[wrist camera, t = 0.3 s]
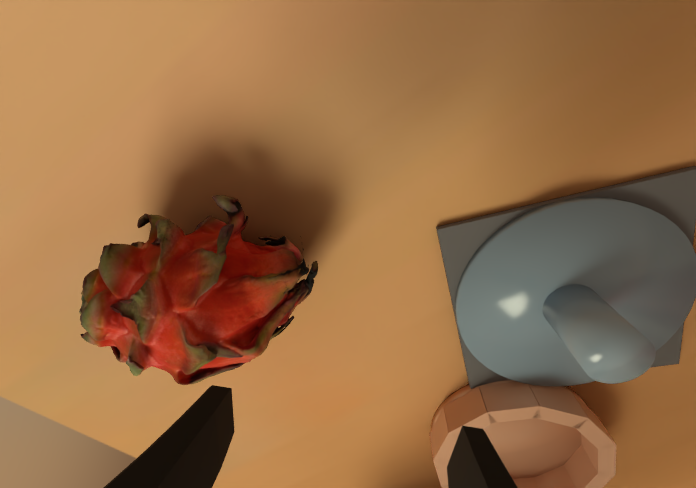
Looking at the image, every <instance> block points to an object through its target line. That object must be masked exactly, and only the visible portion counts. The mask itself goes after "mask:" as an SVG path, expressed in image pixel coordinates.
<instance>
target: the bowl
mask: <svg viewBox="0 0 696 488" xmlns="http://www.w3.org/2000/svg"><path fill="white" fill-rule="evenodd" d="M462 426H468V427H475V428H481V429H483V430H484V431H485V432H486V434H487V436H488V438H489V439H490V441H491V443H492V445H493V446H494V448H495V450H496V452H497V453H498V455H499V457H500V459H501V460H502V462H503V464H504V465H505V467H506V469H507V470H508V472H509V474H510V475H511V477H512V479H513V480H514V482H515V484H516V485H517V487H518V488H603V487H604V486H605V485H606V484H607V483H608V482H609V481H610V480H611V479H612V478H613V477H614V476H615V474H616V443H615V442H614V440H613V439H612V437H611V436H610V435H609V433H608V432H607V430H606V429H605V427H604V426H603V424H602V423H601V421H600V420H599V418H598V417H597V416H596V415H595V414H594V413H593V412H592V411H591V410H590V409H589V408H588V407H587V405H586V404H585V402H584V401H583V400H582V399H581V398H580V397H579V396H578V395H577V394H576V393H575V392H573V391H572V390H571V389H569V388H567V387H566V386H538V385H531V384H526V383H521V382H517V381H514V380H507V381H498V382H493V383H488V384H485V385H481V386H478V387H475V388H473V389H470V385H467V386H465V387H463V388H461V389H459V390H458V391H456V392H455V393H453V394H452V395H450V396H449V397H448V398H447V399H446V400H445V401H444V402H443V403H442V404H441V405H440V406H439V408H438V409H437V411H436V413H435V415H434V417H433V419H432V424H431V432H430V441H431V448H432V456H433V462H434V465H435V468H436V471H437V475H438V478H439V481H440V485H441V487H442V488H449V487H448V476H447V465H448V462H449V460H450V457H451V454H452V452H453V449H454V446H455V444H456V441H457V439H458V436H459V433H460V431H461V428H462Z"/></svg>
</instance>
